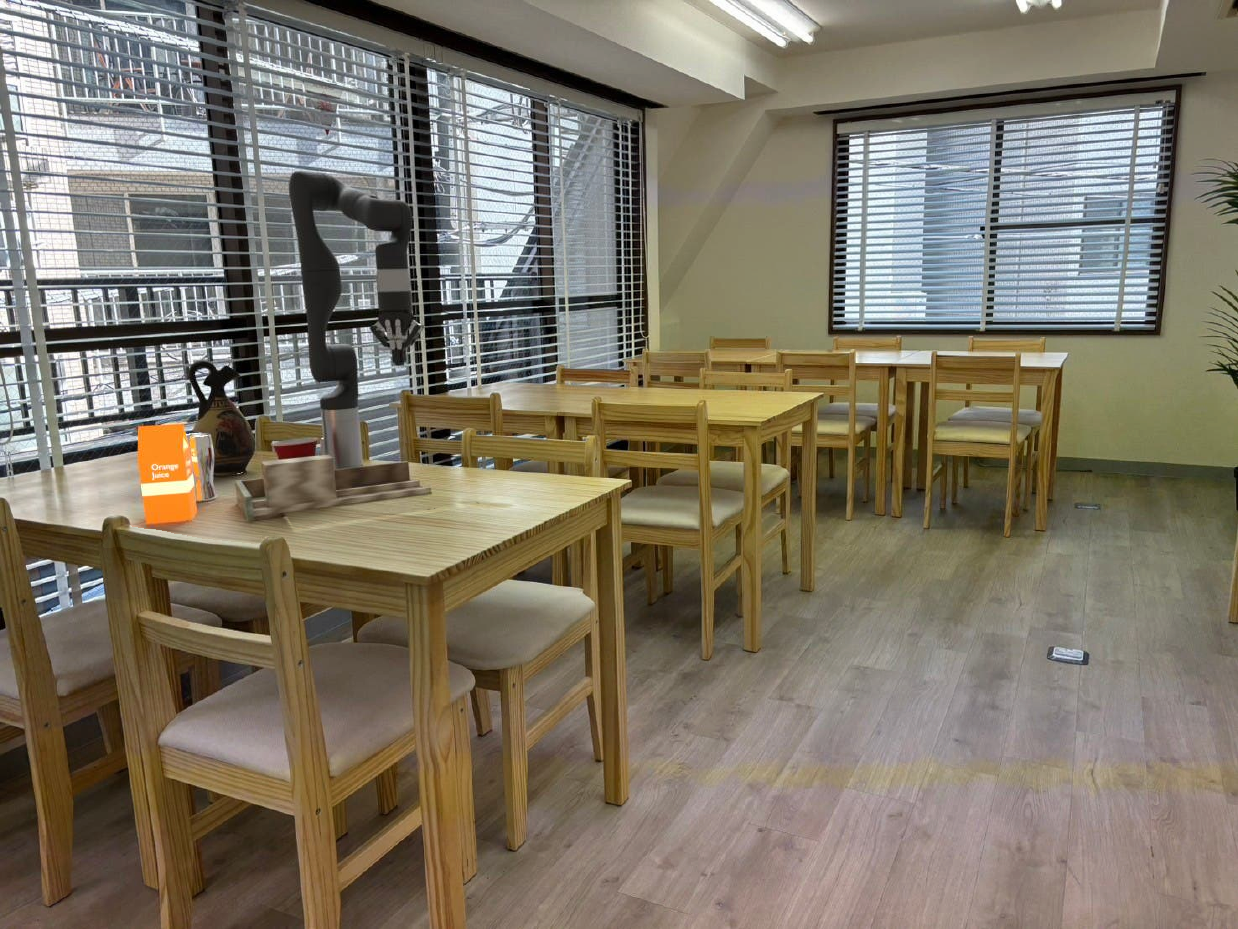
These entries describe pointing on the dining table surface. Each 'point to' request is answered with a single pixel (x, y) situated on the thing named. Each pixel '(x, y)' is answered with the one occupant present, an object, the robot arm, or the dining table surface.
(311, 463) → the beech block
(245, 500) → the board
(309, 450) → the plastic cup
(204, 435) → the beer glass
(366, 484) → the pads
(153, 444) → the orange juice
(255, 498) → the pad
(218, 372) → the ceramic jug
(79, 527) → the dining table surface
